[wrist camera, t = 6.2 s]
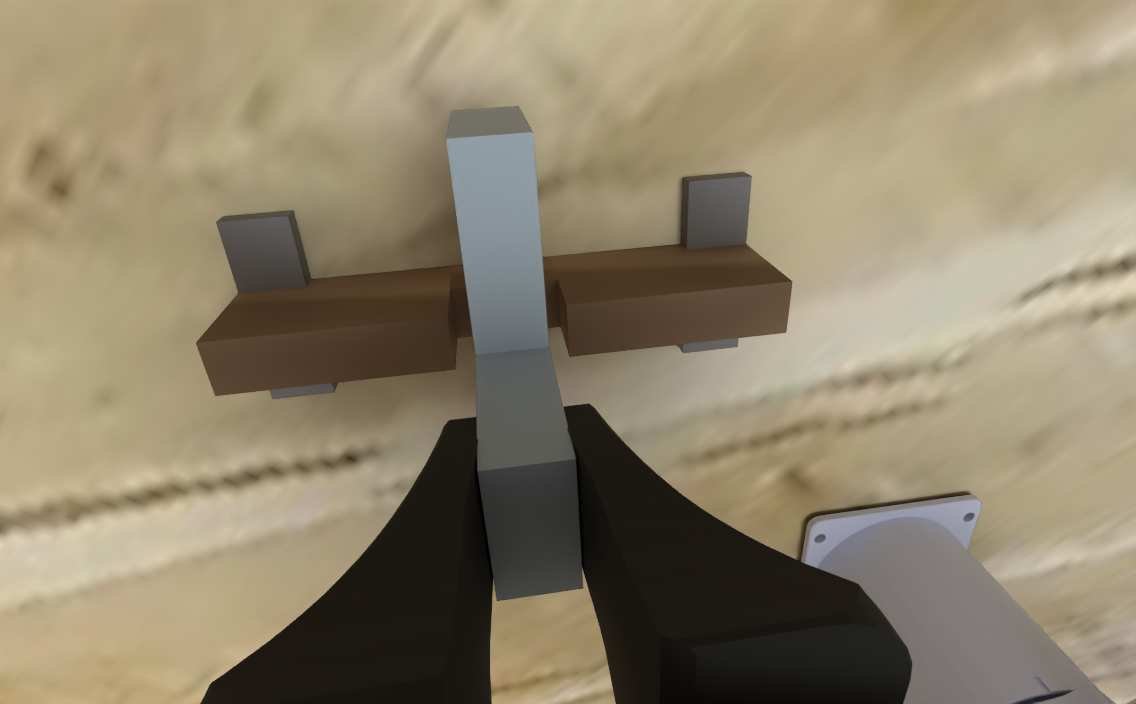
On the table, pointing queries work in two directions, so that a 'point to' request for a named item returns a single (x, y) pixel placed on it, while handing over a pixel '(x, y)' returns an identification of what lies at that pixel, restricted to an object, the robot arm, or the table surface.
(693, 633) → the robot arm
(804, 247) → the table surface
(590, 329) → the walnut slotted plate
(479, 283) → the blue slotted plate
